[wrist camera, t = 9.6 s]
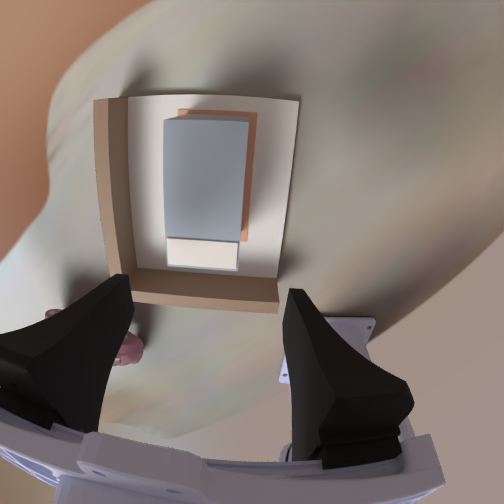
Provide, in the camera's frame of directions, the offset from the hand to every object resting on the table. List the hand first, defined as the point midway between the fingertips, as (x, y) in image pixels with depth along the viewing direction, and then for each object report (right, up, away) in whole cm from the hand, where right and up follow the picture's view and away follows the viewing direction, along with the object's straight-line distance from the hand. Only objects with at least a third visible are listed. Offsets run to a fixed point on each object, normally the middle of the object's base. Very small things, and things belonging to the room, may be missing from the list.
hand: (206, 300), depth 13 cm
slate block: (-1, +7, +6) cm, 9 cm away
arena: (-2, +6, +7) cm, 10 cm away
